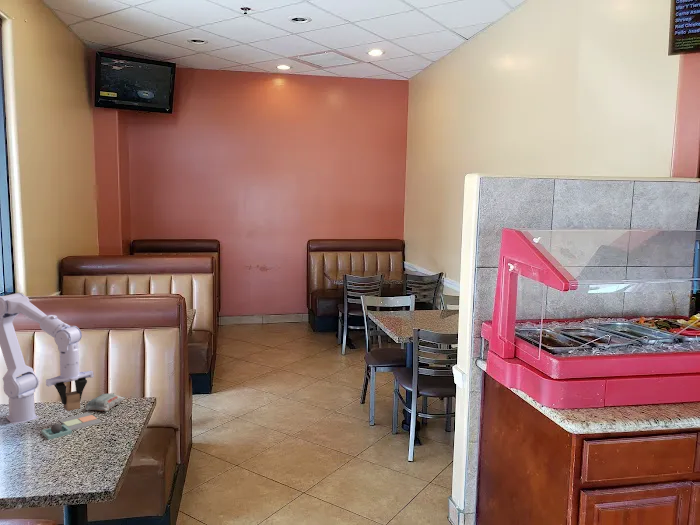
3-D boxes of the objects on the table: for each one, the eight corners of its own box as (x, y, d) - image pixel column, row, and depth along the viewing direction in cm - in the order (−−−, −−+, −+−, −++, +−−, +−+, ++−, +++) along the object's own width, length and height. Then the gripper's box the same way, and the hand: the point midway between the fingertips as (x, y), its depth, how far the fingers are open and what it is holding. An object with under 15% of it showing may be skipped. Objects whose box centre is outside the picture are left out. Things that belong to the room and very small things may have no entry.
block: (63, 408, 188) (63, 393, 187) (76, 405, 190) (75, 391, 190) (67, 411, 185) (67, 396, 184) (80, 408, 188) (79, 393, 187)
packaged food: (125, 404, 209) (124, 391, 209) (106, 415, 198) (105, 402, 197) (104, 402, 211) (103, 390, 210) (84, 414, 199) (83, 400, 199)
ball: (49, 433, 180) (49, 423, 180) (60, 430, 183) (59, 421, 182) (52, 436, 178) (52, 426, 178) (63, 433, 180) (63, 423, 180)
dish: (41, 434, 180) (41, 430, 180) (64, 428, 185) (64, 424, 185) (48, 441, 175) (48, 436, 175) (71, 435, 180) (71, 430, 180)
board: (58, 422, 191) (58, 419, 191) (88, 414, 198) (88, 411, 198) (70, 432, 182) (70, 429, 182) (101, 424, 189) (101, 421, 189)
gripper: (49, 369, 178) (52, 410, 180) (96, 361, 188) (97, 399, 190) (43, 365, 183) (45, 404, 185) (88, 357, 193) (90, 394, 195)
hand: (71, 402), depth 188 cm, fingers closed on block, 4 cm apart
